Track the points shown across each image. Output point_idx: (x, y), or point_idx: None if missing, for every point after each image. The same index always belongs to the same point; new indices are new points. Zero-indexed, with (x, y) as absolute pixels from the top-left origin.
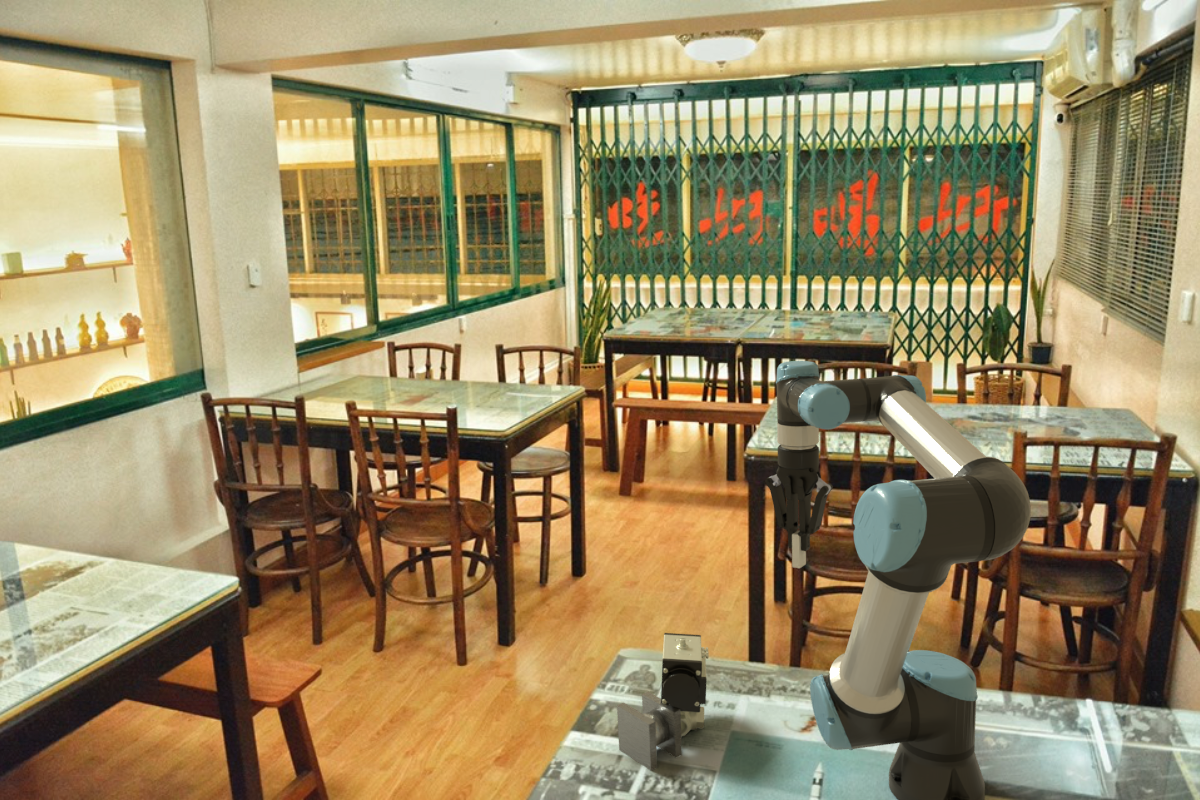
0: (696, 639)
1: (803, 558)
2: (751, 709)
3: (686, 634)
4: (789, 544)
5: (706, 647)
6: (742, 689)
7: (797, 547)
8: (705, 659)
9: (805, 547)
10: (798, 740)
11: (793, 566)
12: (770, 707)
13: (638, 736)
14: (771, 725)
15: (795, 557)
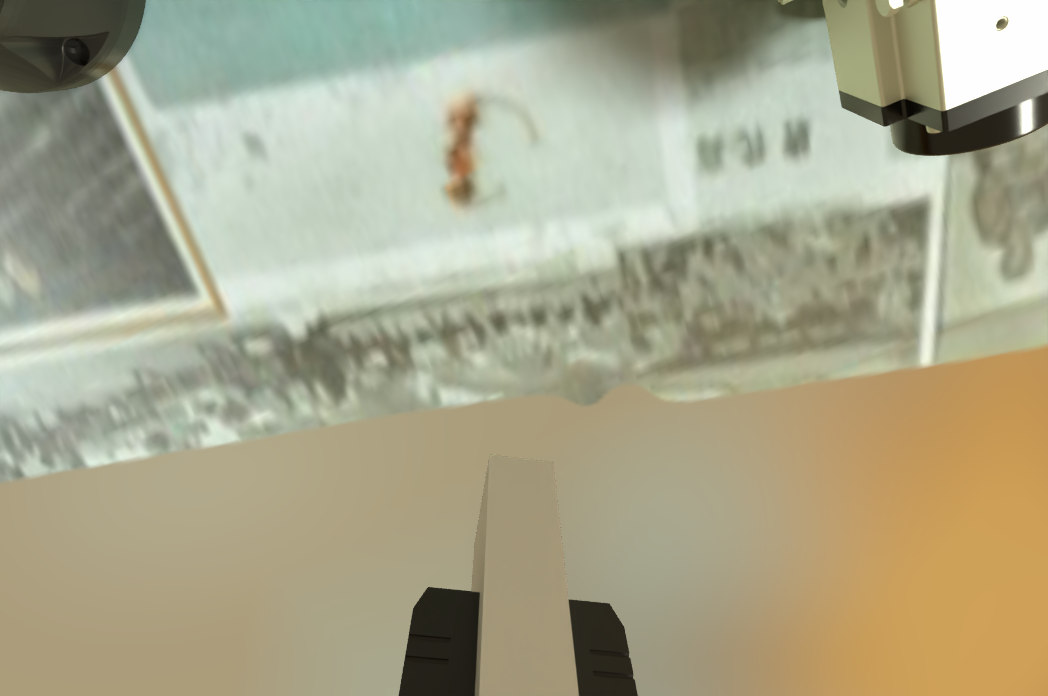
0: (963, 64)
1: (477, 556)
2: (646, 160)
3: (1019, 99)
4: (610, 635)
5: (899, 3)
6: (701, 258)
7: (504, 598)
8: (869, 27)
9: (423, 620)
10: (462, 44)
11: (543, 464)
12: (597, 195)
13: None
14: (564, 95)
15: (526, 519)
